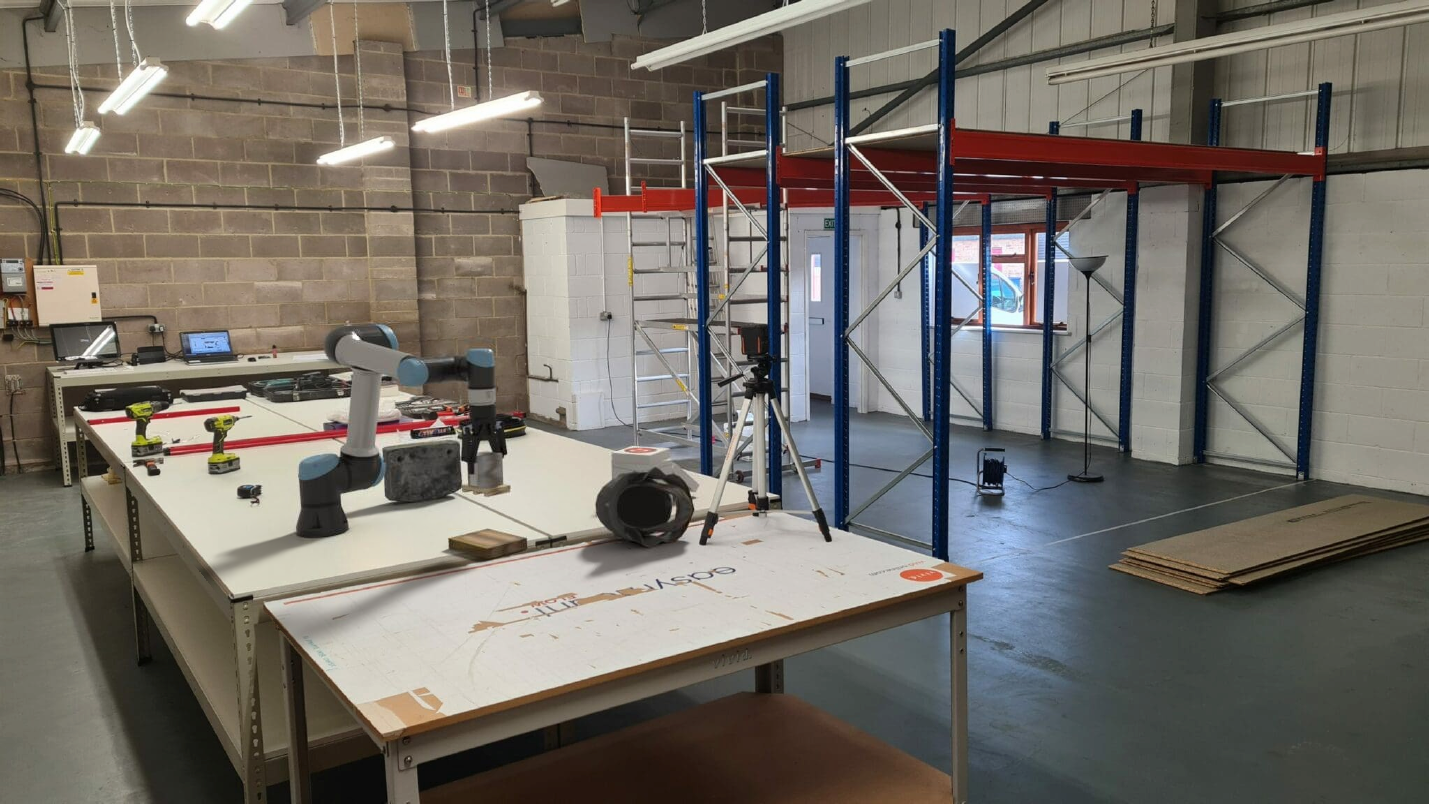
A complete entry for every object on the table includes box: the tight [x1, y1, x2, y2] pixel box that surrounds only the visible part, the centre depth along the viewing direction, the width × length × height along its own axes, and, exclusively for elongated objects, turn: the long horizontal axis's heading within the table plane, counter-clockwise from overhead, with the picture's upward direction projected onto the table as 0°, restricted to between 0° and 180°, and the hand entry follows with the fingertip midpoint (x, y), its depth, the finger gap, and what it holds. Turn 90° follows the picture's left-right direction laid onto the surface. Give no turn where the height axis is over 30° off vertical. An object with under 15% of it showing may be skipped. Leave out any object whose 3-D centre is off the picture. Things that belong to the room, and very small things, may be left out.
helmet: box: [595, 467, 695, 549], centre depth 290 cm, size 23×32×25 cm
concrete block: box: [382, 439, 463, 503], centre depth 345 cm, size 27×9×20 cm, turn 125°
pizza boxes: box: [610, 445, 700, 503], centre depth 343 cm, size 19×30×18 cm, turn 135°
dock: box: [447, 528, 528, 560], centre depth 282 cm, size 14×18×3 cm
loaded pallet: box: [461, 450, 512, 498], centre depth 280 cm, size 8×12×11 cm, turn 51°
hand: (485, 483), depth 280 cm, fingers closed on loaded pallet, 7 cm apart
